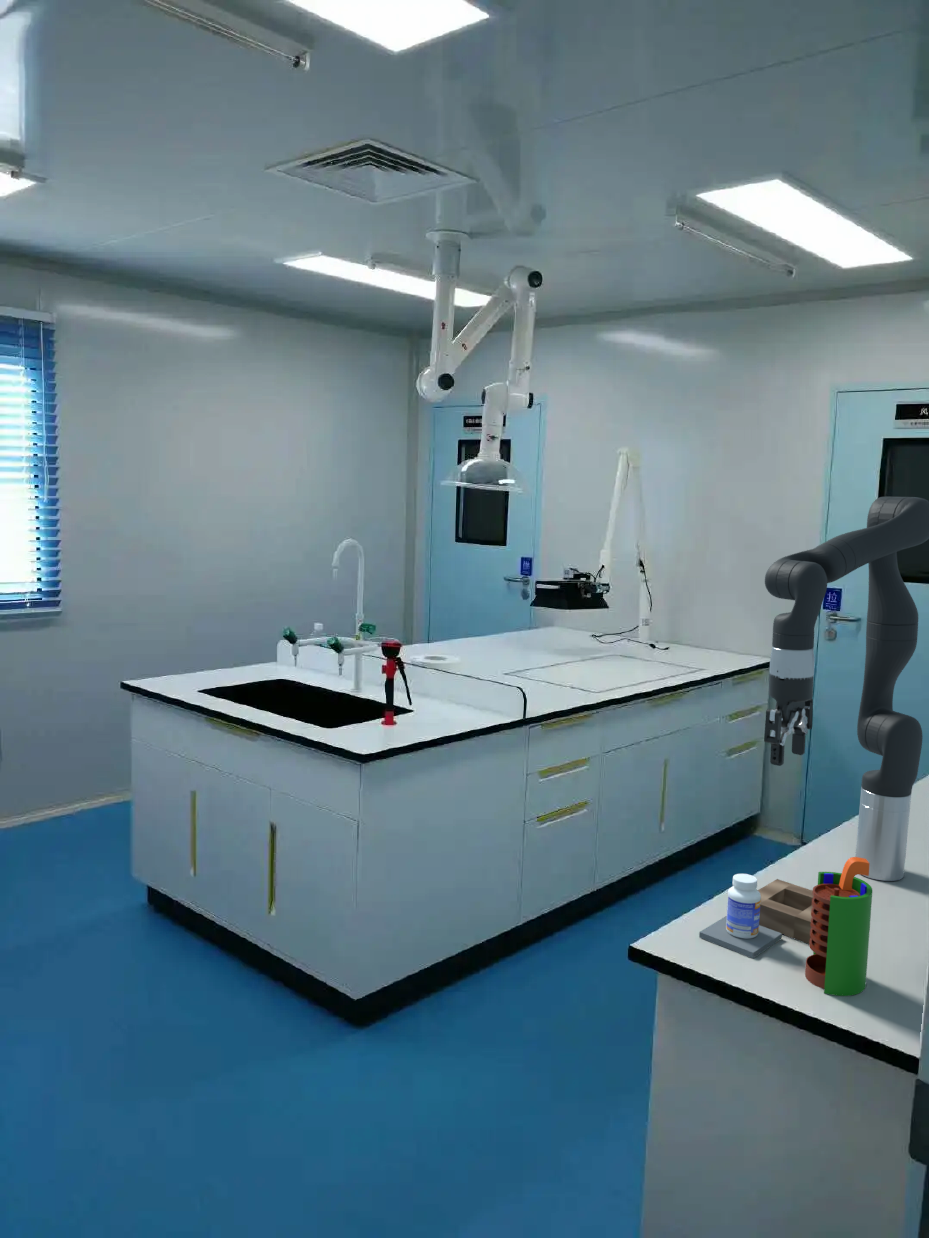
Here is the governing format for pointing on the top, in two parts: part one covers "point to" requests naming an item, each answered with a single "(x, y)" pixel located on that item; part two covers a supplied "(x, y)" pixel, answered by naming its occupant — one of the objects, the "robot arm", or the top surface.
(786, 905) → the socket block
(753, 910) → the pill bottle
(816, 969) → the green brown cylinder
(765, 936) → the mat
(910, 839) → the top surface
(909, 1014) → the top surface
